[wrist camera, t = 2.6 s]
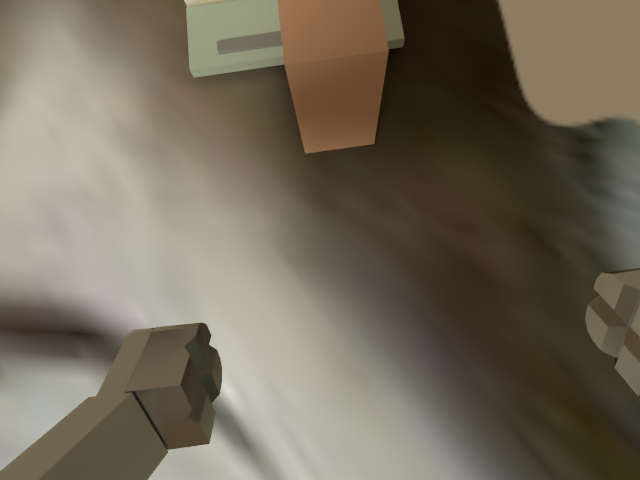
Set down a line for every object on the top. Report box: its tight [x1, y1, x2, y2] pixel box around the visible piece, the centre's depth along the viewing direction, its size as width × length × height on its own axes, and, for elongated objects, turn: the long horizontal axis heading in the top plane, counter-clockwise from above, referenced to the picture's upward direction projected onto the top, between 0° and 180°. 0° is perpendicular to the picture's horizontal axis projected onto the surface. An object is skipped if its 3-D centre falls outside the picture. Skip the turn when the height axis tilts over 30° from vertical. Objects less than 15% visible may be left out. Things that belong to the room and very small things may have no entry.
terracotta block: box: [277, 0, 389, 153], centre depth 22 cm, size 4×4×9 cm
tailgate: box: [186, 0, 405, 78], centre depth 27 cm, size 14×1×5 cm
